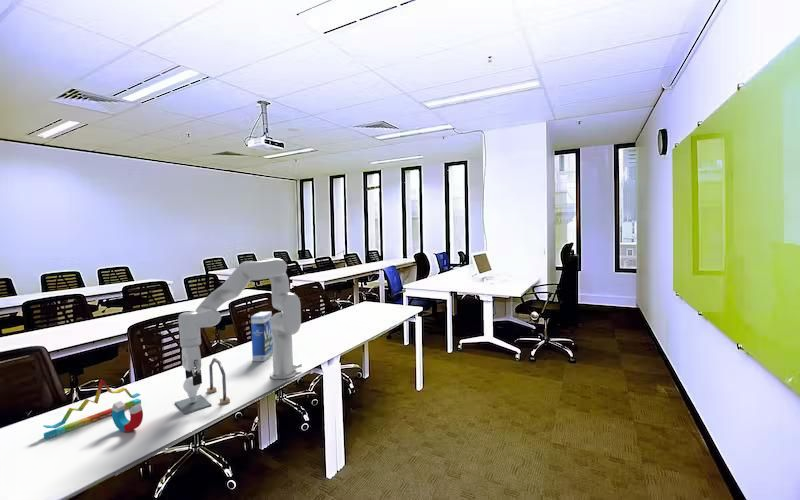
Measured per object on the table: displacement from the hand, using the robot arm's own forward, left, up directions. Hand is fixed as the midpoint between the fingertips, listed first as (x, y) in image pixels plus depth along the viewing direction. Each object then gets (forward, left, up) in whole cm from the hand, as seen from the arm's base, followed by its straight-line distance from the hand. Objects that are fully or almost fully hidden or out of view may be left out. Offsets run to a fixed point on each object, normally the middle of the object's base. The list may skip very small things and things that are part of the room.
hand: (193, 381), depth 155 cm
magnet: (+24, +5, -10) cm, 26 cm away
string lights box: (-46, -36, -10) cm, 59 cm away
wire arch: (-9, 0, -10) cm, 13 cm away
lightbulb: (+1, 0, -9) cm, 9 cm away
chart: (+31, -15, -10) cm, 35 cm away
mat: (+1, 0, -10) cm, 10 cm away
